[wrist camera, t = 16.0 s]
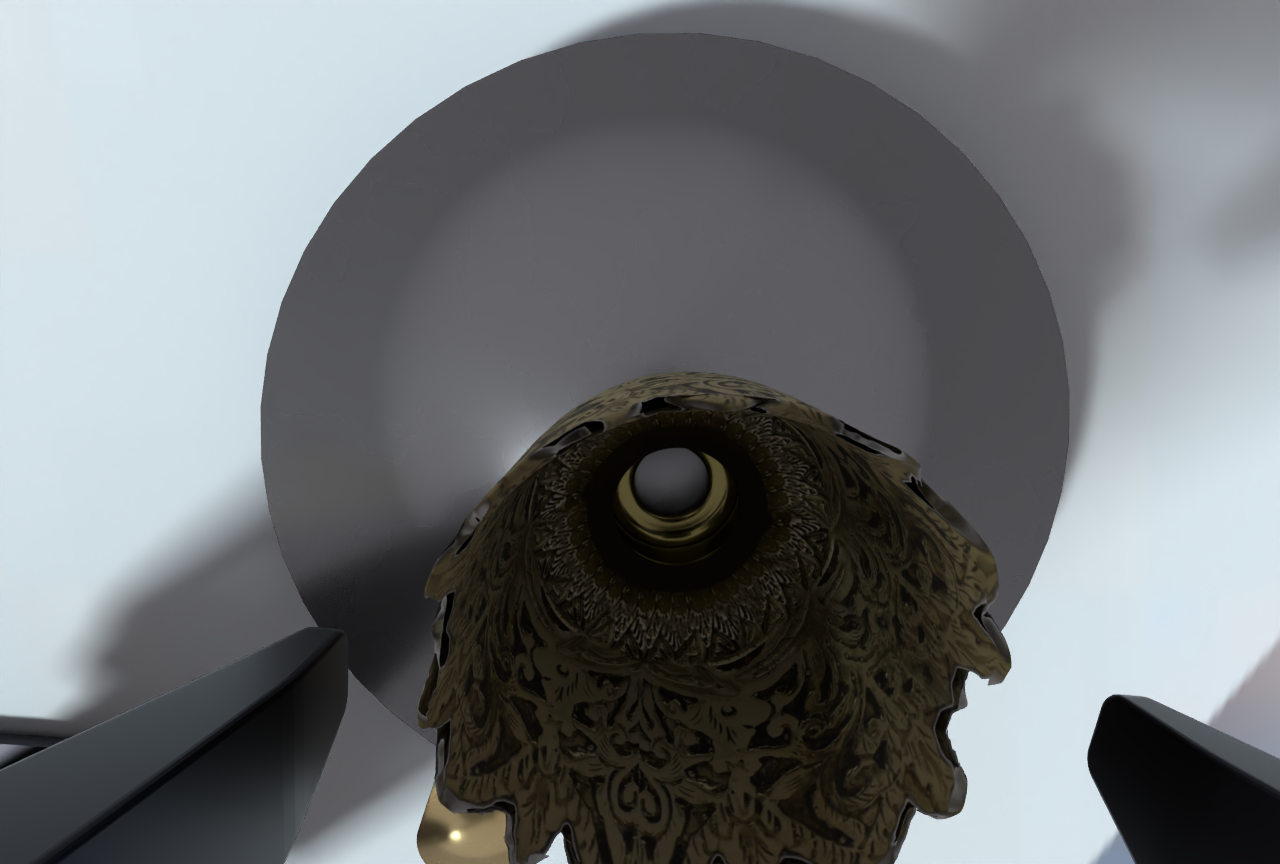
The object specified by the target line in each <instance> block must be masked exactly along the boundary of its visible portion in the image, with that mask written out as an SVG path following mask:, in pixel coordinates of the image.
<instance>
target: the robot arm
mask: <svg viewBox="0 0 1280 864" xmlns="http://www.w3.org/2000/svg"><path fill="white" fill-rule="evenodd" d="M347 696H348V639H347V635H346V634H345V632H344V631H343V630H340V629H331V628H319V627H308V628H305V629H303V630H301V631H299V632H297V633H295V634H292V635H290V636H288V637H286V638H284V639H282V640H279V641H277V642H275V643H273V644H271V645H269V646H267V647H264V648H262V649H260V650H258V651H256V652H254V653H251V654H249V655H247V656H245V657H243V658H241V659H238V660H236V661H234V662H232V663H230V664H228V665H225V666H223V667H221V668H219V669H217V670H215V671H213V672H210V673H208V674H206V675H204V676H202V677H200V678H197V679H195V680H193V681H191V682H189V683H187V684H184V685H182V686H180V687H178V688H176V689H174V690H171V691H169V692H167V693H165V694H163V695H161V696H159V697H156V698H154V699H152V700H150V701H148V702H146V703H143V704H141V705H139V706H137V707H135V708H133V709H130V710H128V711H126V712H124V713H122V714H120V715H117V716H115V717H113V718H111V719H109V720H107V721H105V722H102V723H100V724H98V725H96V726H94V727H92V728H89V729H87V730H85V731H83V732H81V733H79V734H76V735H74V736H72V737H70V738H58V737H44V736H30V735H16V734H2V733H0V864H284V863H285V861H286V859H287V857H288V854H289V852H290V850H291V848H292V846H293V844H294V842H295V840H296V837H297V835H298V832H299V830H300V828H301V825H302V823H303V820H304V818H305V815H306V812H307V810H308V807H309V804H310V802H311V799H312V797H313V794H314V791H315V789H316V786H317V783H318V781H319V778H320V776H321V773H322V770H323V768H324V765H325V763H326V760H327V757H328V755H329V752H330V749H331V747H332V744H333V742H334V739H335V736H336V734H337V731H338V728H339V726H340V723H341V721H342V718H343V715H344V712H345V708H346V703H347ZM1087 761H1088V767H1089V771H1090V774H1091V776H1092V779H1093V781H1094V783H1095V785H1096V787H1097V789H1098V791H1099V793H1100V795H1101V797H1102V799H1103V801H1104V803H1105V805H1106V807H1107V809H1108V811H1109V813H1110V815H1111V817H1112V819H1113V821H1114V823H1115V825H1116V827H1117V829H1118V831H1119V833H1120V835H1121V837H1122V839H1123V841H1124V843H1125V845H1126V847H1127V849H1128V851H1129V853H1130V855H1131V857H1132V859H1133V861H1134V863H1135V864H1280V759H1279V758H1277V757H1275V756H1273V755H1270V754H1268V753H1266V752H1264V751H1262V750H1260V749H1258V748H1256V747H1253V746H1251V745H1249V744H1247V743H1245V742H1242V741H1240V740H1238V739H1236V738H1234V737H1232V736H1230V735H1228V734H1225V733H1223V732H1221V731H1219V730H1217V729H1215V728H1212V727H1210V726H1208V725H1206V724H1204V723H1202V722H1200V721H1197V720H1195V719H1193V718H1191V717H1189V716H1187V715H1184V714H1182V713H1180V712H1178V711H1176V710H1174V709H1172V708H1169V707H1167V706H1165V705H1163V704H1161V703H1159V702H1157V701H1154V700H1152V699H1150V698H1147V697H1142V696H1131V695H1112V696H1110V697H1108V698H1107V699H1106V700H1105V701H1104V703H1103V705H1102V707H1101V711H1100V714H1099V717H1098V720H1097V723H1096V727H1095V730H1094V733H1093V736H1092V739H1091V743H1090V746H1089V749H1088V757H1087Z"/></svg>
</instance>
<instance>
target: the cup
mask: <svg viewBox="0 0 1280 864" xmlns="http://www.w3.org/2000/svg"><path fill="white" fill-rule="evenodd" d="M670 448H685V449H687V450H689V451H691V452H693V453H694V454H695V455H697V456H698V457H699V458H700V459H701V461H702V462H703V464H704V466H705V468H706V471H707V475H708V485H707V490H706V493H705V495H704V497H703V498H702V500H701V501H700V502H699V503H698V504H697V505H696V506H695V507H694V508H693V509H691V510H689V511H687V512H685V513H682V514H679V515H663V514H659V513H656V512H654V511H652V510H650V509H649V508H648V507H646V506H645V505H644V504H643V503H642V501H641V500H640V498H639V497H638V494H637V492H636V488H635V475H636V471H637V469H638V466H639V465H640V463H641V462H642V460H643V459H644V458H645V457H646V456H647V455H649V454H651V453H654V452H657V451H660V450H664V449H670ZM921 469H922V466H921V465H920V464H919V463H918V462H917V461H916V460H915V459H913V458H912V457H911V456H909V455H908V454H907V453H905V452H903V451H902V450H900V449H898V448H896V447H894V446H892V445H890V444H887V443H885V442H883V441H880V440H878V439H876V438H874V437H872V436H870V435H868V434H866V433H864V432H862V431H860V430H858V429H856V428H854V427H852V426H850V425H848V424H846V423H845V422H844V421H842V420H840V419H838V418H835V417H833V416H831V415H829V414H827V413H825V412H823V411H821V410H819V409H817V408H815V407H813V406H811V405H809V404H807V403H805V402H803V401H801V400H799V399H796V398H794V397H792V396H790V395H787V394H785V393H782V392H780V391H778V390H775V389H773V388H770V387H768V386H765V385H762V384H759V383H757V382H753V381H749V380H746V379H742V378H739V377H735V376H729V375H722V374H716V373H708V372H671V373H662V374H656V375H650V376H644V377H641V378H638V379H634V380H631V381H627V382H624V383H621V384H619V385H617V386H614V387H612V388H609V389H607V390H605V391H603V392H601V393H599V394H597V395H595V396H593V397H592V398H590V399H588V400H586V401H584V402H583V403H581V404H579V405H578V406H577V407H575V408H574V409H572V410H571V411H570V412H568V413H567V414H565V415H564V416H563V417H561V418H560V419H559V420H558V421H557V422H556V423H555V424H553V425H552V426H551V427H550V428H549V429H548V430H547V431H546V432H545V433H543V434H542V435H541V436H540V437H539V438H538V439H537V440H536V441H535V442H534V443H533V444H532V445H531V446H530V448H529V449H528V450H527V451H526V452H525V453H524V454H523V455H522V456H521V457H520V459H519V460H518V461H517V462H516V463H515V464H514V465H513V467H512V468H511V469H510V470H509V471H508V472H507V473H506V474H505V475H504V476H503V477H502V478H501V479H500V480H499V481H498V482H497V483H496V484H495V485H494V487H493V488H492V489H491V490H490V491H489V492H488V493H487V494H486V495H485V496H484V497H483V498H482V500H481V501H480V502H479V503H478V504H477V505H476V507H475V508H474V509H473V510H472V511H471V513H470V514H469V515H468V516H467V518H466V519H465V521H464V522H463V523H462V525H461V526H460V528H459V530H458V532H457V534H456V536H455V538H454V540H453V541H452V542H451V543H450V544H449V545H448V546H447V548H446V549H445V550H444V551H443V553H442V554H441V555H440V557H439V558H438V560H437V561H436V563H435V565H434V567H433V569H432V571H431V573H430V576H429V578H428V581H427V584H426V587H425V591H424V597H425V598H428V597H430V598H432V599H435V600H436V601H438V602H439V604H438V609H437V612H436V615H435V618H434V622H433V624H432V626H431V636H432V638H433V641H434V643H435V647H434V649H435V654H434V658H433V661H432V664H431V665H432V666H430V668H429V670H428V678H427V680H426V683H425V686H424V689H423V692H422V695H421V697H420V699H419V703H418V708H417V718H418V725H419V727H420V728H421V729H424V730H425V729H428V728H437V744H436V768H435V769H436V773H435V778H434V779H435V787H436V792H437V796H438V799H439V802H440V803H441V804H442V805H443V806H444V807H446V808H447V809H448V810H449V811H451V812H452V813H453V814H455V813H467V814H472V813H476V814H480V815H483V814H484V813H493V812H494V811H500V812H502V813H505V814H506V830H505V836H504V840H505V843H506V845H507V848H508V858H509V864H536V863H538V862H540V861H542V860H543V859H544V858H547V857H548V856H547V855H546V853H547V851H549V848H550V847H551V844H552V843H553V841H554V839H555V837H556V836H557V835H558V834H559V833H560V832H561V833H562V834H563V836H564V848H565V852H566V856H567V861H568V863H569V864H894V862H895V861H896V859H897V857H898V854H899V852H900V849H901V846H902V844H903V842H904V840H905V838H906V835H907V832H908V829H909V825H910V822H911V820H912V818H913V817H914V815H915V813H916V808H917V809H918V810H917V811H919V812H921V813H923V814H925V815H929V816H930V817H933V818H935V819H946V818H949V817H952V816H955V815H957V814H958V813H960V812H961V810H962V809H963V806H964V803H965V798H966V794H967V778H966V775H965V773H964V771H963V769H962V767H961V766H960V763H958V759H957V755H956V752H955V751H954V750H953V749H952V746H951V741H950V739H949V738H948V730H947V727H948V724H949V721H950V719H951V716H952V714H953V713H954V712H956V711H958V710H960V709H963V708H965V707H966V706H967V699H966V695H965V681H966V679H967V676H968V672H969V671H971V672H974V673H975V674H977V675H979V677H980V678H981V679H989V682H988V685H995V684H999V683H1002V682H1003V680H1004V679H1005V677H1006V675H1007V673H1008V672H1009V670H1010V668H1011V655H1010V651H1009V648H1008V645H1007V643H1006V640H1005V638H1004V636H1003V634H1002V633H1001V631H1000V629H999V628H998V626H997V624H996V623H995V621H994V619H993V618H992V616H991V615H990V614H989V613H988V608H989V606H990V605H992V604H993V603H994V602H995V600H996V599H997V597H998V589H999V581H998V571H997V566H996V563H995V560H994V556H993V554H992V552H991V551H990V549H989V548H988V546H987V545H986V543H985V542H984V541H983V540H982V538H981V537H980V536H979V534H978V533H977V532H976V531H975V530H974V529H973V527H972V526H971V525H970V524H969V523H968V522H967V521H966V520H965V519H964V518H963V516H962V515H961V514H960V513H959V512H958V511H957V510H956V509H955V508H954V507H953V506H952V504H951V503H949V502H948V501H947V500H945V499H944V498H943V497H942V496H940V495H939V494H938V493H937V492H936V491H935V490H934V489H932V488H931V487H930V486H929V485H928V484H927V483H926V482H925V481H924V480H923V479H922V478H921V476H920V471H922V470H921ZM946 730H947V734H946ZM956 760H957V761H956ZM486 807H487V808H486ZM484 808H485V809H484Z"/></svg>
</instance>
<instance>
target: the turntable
mask: <svg viewBox="0 0 1280 864" xmlns="http://www.w3.org/2000/svg"><path fill="white" fill-rule="evenodd" d="M671 372H708V373H716V374H722V375H729V376H735V377H739V378H742V379H746V380H749V381H753V382H757V383H759V384H762V385H765V386H768V387H770V388H773V389H775V390H778V391H780V392H782V393H785V394H787V395H790V396H792V397H794V398H796V399H799V400H801V401H803V402H805V403H807V404H809V405H811V406H813V407H815V408H817V409H819V410H821V411H823V412H825V413H827V414H829V415H831V416H833V417H835V418H838V419H840V420H842V421H844V422H845V423H846V424H848V425H850V426H852V427H854V428H856V429H858V430H860V431H862V432H864V433H866V434H868V435H870V436H872V437H874V438H876V439H878V440H880V441H883V442H885V443H887V444H890V445H892V446H894V447H896V448H898V449H900V450H902V451H903V452H905V453H907V454H908V455H909V456H911V457H912V458H913V459H915V460H916V461H917V462H918V463H919V464H920V465H921V466H922V469H921V470H922V471H920V476H921V478H922V479H923V480H924V481H925V482H926V483H927V484H928V485H929V486H930V487H931V488H932V489H934V490H935V491H936V492H937V493H938V494H939V495H940V496H942V497H943V498H944V499H945V500H947V501H948V502H949V503H951V504H952V506H953V507H954V508H955V509H956V510H957V511H958V512H959V513H960V514H961V515H962V516H963V518H964V519H965V520H966V521H967V522H968V523H969V524H970V525H971V526H972V527H973V529H974V530H975V531H976V532H977V533H978V534H979V536H980V537H981V538H982V540H983V541H984V542H985V543H986V545H987V546H988V548H989V549H990V551H991V552H992V554H993V556H994V560H995V563H996V566H997V571H998V581H999V589H998V597H997V599H996V600H995V602H994V603H993V604H992V605H990V606H989V608H988V613H989V614H990V615H991V616H992V618H993V619H994V621H995V623H996V624H997V626H998V628H999V629H1000V631H1002V629H1003V628H1004V627H1005V625H1006V624H1007V622H1008V620H1009V618H1010V617H1011V615H1012V613H1013V611H1014V610H1015V608H1016V606H1017V605H1018V603H1019V601H1020V599H1021V598H1022V596H1023V594H1024V592H1025V591H1026V589H1027V587H1028V586H1029V584H1030V581H1031V579H1032V577H1033V574H1034V572H1035V570H1036V567H1037V565H1038V562H1039V560H1040V558H1041V555H1042V553H1043V551H1044V548H1045V546H1046V544H1047V541H1048V539H1049V535H1050V532H1051V528H1052V524H1053V521H1054V517H1055V514H1056V510H1057V507H1058V503H1059V499H1060V496H1061V492H1062V486H1063V479H1064V472H1065V465H1066V458H1067V451H1068V444H1069V387H1068V379H1067V372H1066V364H1065V356H1064V349H1063V341H1062V337H1061V334H1060V330H1059V326H1058V323H1057V319H1056V316H1055V312H1054V308H1053V305H1052V301H1051V297H1050V294H1049V290H1048V288H1047V286H1046V283H1045V281H1044V279H1043V276H1042V274H1041V272H1040V270H1039V267H1038V265H1037V263H1036V260H1035V258H1034V256H1033V254H1032V251H1031V249H1030V247H1029V244H1028V242H1027V240H1026V239H1025V237H1024V235H1023V234H1022V232H1021V231H1020V229H1019V227H1018V226H1017V224H1016V223H1015V221H1014V219H1013V218H1012V216H1011V214H1010V213H1009V211H1008V210H1007V208H1006V206H1005V205H1004V203H1003V202H1002V200H1001V198H1000V197H999V195H998V194H997V193H996V192H995V190H994V189H993V188H992V187H991V186H990V184H989V183H988V182H987V181H986V180H985V179H984V177H983V176H982V175H981V174H980V173H979V171H978V170H977V169H976V168H975V167H974V166H973V164H972V163H971V162H970V161H969V160H968V158H967V157H966V156H965V155H964V154H963V153H962V152H961V151H960V150H959V149H958V148H957V147H956V146H955V145H953V144H952V143H951V142H950V141H949V140H948V139H947V138H946V137H944V136H943V135H942V134H941V133H940V132H939V131H938V130H936V129H935V128H934V127H933V126H932V125H931V124H930V123H929V122H927V121H926V120H925V119H924V118H923V117H922V116H921V115H919V114H918V113H916V112H915V111H913V110H912V109H910V108H909V107H907V106H906V105H904V104H902V103H901V102H899V101H898V100H896V99H895V98H893V97H892V96H890V95H889V94H887V93H886V92H884V91H882V90H881V89H879V88H878V87H876V86H875V85H873V84H872V83H870V82H868V81H865V80H863V79H861V78H859V77H857V76H854V75H852V74H850V73H848V72H846V71H844V70H841V69H839V68H837V67H835V66H833V65H830V64H828V63H826V62H824V61H822V60H820V59H817V58H814V57H811V56H807V55H804V54H800V53H797V52H793V51H790V50H787V49H783V48H780V47H776V46H773V45H769V44H766V43H763V42H758V41H751V40H744V39H737V38H729V37H722V36H715V35H708V34H701V33H683V34H634V35H628V36H621V37H615V38H608V39H601V40H595V41H588V42H582V43H577V44H574V45H570V46H567V47H564V48H560V49H557V50H554V51H551V52H547V53H544V54H541V55H537V56H534V57H531V58H528V59H524V60H521V61H519V62H516V63H514V64H512V65H510V66H508V67H506V68H504V69H502V70H499V71H497V72H495V73H493V74H491V75H489V76H487V77H484V78H482V79H480V80H478V81H476V82H474V83H472V84H470V85H467V86H465V87H464V88H462V89H461V90H459V91H458V92H456V93H455V94H453V95H452V96H450V97H449V98H447V99H446V100H444V101H443V102H441V103H440V104H438V105H437V106H435V107H434V108H432V109H430V110H429V111H427V112H426V113H424V114H423V115H421V116H420V117H418V118H417V119H415V120H414V121H413V122H412V123H411V124H410V125H409V126H407V127H406V128H405V129H404V130H403V131H402V132H401V133H400V134H398V135H397V136H396V137H395V138H394V139H393V140H392V141H391V142H389V143H388V144H387V145H386V146H385V147H384V148H383V149H382V150H381V151H379V152H378V153H377V154H376V155H375V156H374V157H373V158H372V159H371V160H370V161H369V162H368V163H367V164H366V166H365V167H364V168H363V169H362V170H361V172H360V173H359V174H358V175H357V176H356V177H355V179H354V180H353V181H352V182H351V183H350V185H349V186H348V187H347V188H346V189H345V191H344V192H343V193H342V194H341V195H340V196H339V198H338V199H337V200H336V201H335V202H334V204H333V205H332V207H331V209H330V210H329V212H328V213H327V215H326V217H325V218H324V220H323V222H322V223H321V225H320V226H319V228H318V230H317V231H316V233H315V234H314V236H313V238H312V239H311V241H310V242H309V244H308V246H307V247H306V249H305V251H304V253H303V255H302V257H301V259H300V262H299V264H298V266H297V269H296V271H295V273H294V275H293V278H292V280H291V282H290V285H289V287H288V289H287V291H286V294H285V296H284V298H283V301H282V303H281V307H280V311H279V314H278V318H277V321H276V325H275V329H274V332H273V336H272V340H271V343H270V347H269V350H268V354H267V362H266V369H265V377H264V385H263V393H262V401H261V460H262V466H263V473H264V479H265V486H266V493H267V499H268V506H269V511H270V514H271V518H272V521H273V524H274V528H275V531H276V534H277V538H278V541H279V545H280V548H281V551H282V555H283V558H284V560H285V562H286V565H287V567H288V569H289V571H290V573H291V576H292V578H293V580H294V582H295V585H296V587H297V589H298V591H299V594H300V596H301V598H302V600H303V602H304V604H305V606H306V607H307V609H308V611H309V612H310V614H311V615H312V617H313V619H314V620H315V622H316V624H317V625H318V627H319V628H331V629H340V630H343V631H344V632H345V634H346V635H347V639H348V668H349V669H350V670H351V672H352V673H353V674H354V675H355V677H356V678H357V679H358V680H359V681H360V682H361V683H362V684H363V685H364V686H365V687H366V688H367V689H368V690H369V691H370V692H371V693H372V694H373V695H374V696H375V697H376V698H377V699H378V700H379V701H380V702H381V703H382V704H383V705H384V706H386V707H387V708H388V709H389V710H390V711H391V712H392V713H393V714H394V715H395V716H397V717H398V718H399V719H401V720H402V721H403V722H405V723H406V724H407V725H409V726H410V727H411V728H413V729H414V730H415V731H417V732H418V733H419V734H421V735H422V736H423V737H425V738H426V739H427V740H428V741H430V742H431V743H433V744H435V745H436V744H437V728H428V729H425V730H424V729H421V728H420V727H419V725H418V718H417V708H418V703H419V699H420V697H421V695H422V692H423V689H424V686H425V683H426V680H427V678H428V670H429V668H430V666H432V665H431V664H432V661H433V658H434V654H435V649H434V647H435V643H434V641H433V638H432V636H431V626H432V624H433V622H434V618H435V615H436V612H437V609H438V604H439V602H438V601H436V600H435V599H432V598H430V597H428V598H425V597H424V591H425V587H426V584H427V581H428V578H429V576H430V573H431V571H432V569H433V567H434V565H435V563H436V561H437V560H438V558H439V557H440V555H441V554H442V553H443V551H444V550H445V549H446V548H447V546H448V545H449V544H450V543H451V542H452V541H453V540H454V538H455V536H456V534H457V532H458V530H459V528H460V526H461V525H462V523H463V522H464V521H465V519H466V518H467V516H468V515H469V514H470V513H471V511H472V510H473V509H474V508H475V507H476V505H477V504H478V503H479V502H480V501H481V500H482V498H483V497H484V496H485V495H486V494H487V493H488V492H489V491H490V490H491V489H492V488H493V487H494V485H495V484H496V483H497V482H498V481H499V480H500V479H501V478H502V477H503V476H504V475H505V474H506V473H507V472H508V471H509V470H510V469H511V468H512V467H513V465H514V464H515V463H516V462H517V461H518V460H519V459H520V457H521V456H522V455H523V454H524V453H525V452H526V451H527V450H528V449H529V448H530V446H531V445H532V444H533V443H534V442H535V441H536V440H537V439H538V438H539V437H540V436H541V435H542V434H543V433H545V432H546V431H547V430H548V429H549V428H550V427H551V426H552V425H553V424H555V423H556V422H557V421H558V420H559V419H560V418H561V417H563V416H564V415H565V414H567V413H568V412H570V411H571V410H572V409H574V408H575V407H577V406H578V405H579V404H581V403H583V402H584V401H586V400H588V399H590V398H592V397H593V396H595V395H597V394H599V393H601V392H603V391H605V390H607V389H609V388H612V387H614V386H617V385H619V384H621V383H624V382H627V381H631V380H634V379H638V378H641V377H644V376H650V375H656V374H662V373H671ZM707 485H708V475H707V471H706V468H705V466H704V464H703V462H702V461H701V459H700V458H699V457H698V456H697V455H695V454H694V453H693V452H691V451H689V450H687V449H685V448H670V449H664V450H660V451H657V452H654V453H651V454H649V455H647V456H646V457H645V458H644V459H643V460H642V462H641V463H640V465H639V466H638V469H637V471H636V475H635V488H636V492H637V494H638V497H639V498H640V500H641V501H642V503H643V504H644V505H645V506H646V507H648V508H649V509H650V510H652V511H654V512H656V513H659V514H663V515H679V514H682V513H685V512H687V511H689V510H691V509H693V508H694V507H695V506H696V505H697V504H698V503H699V502H700V501H701V500H702V498H703V497H704V495H705V493H706V490H707ZM486 808H487V807H486ZM484 809H485V808H484ZM505 830H506V814H505V813H502V812H500V811H494V812H493V813H484V814H483V815H480V814H476V813H472V814H467V813H455V814H453V813H452V812H451V811H449V810H448V809H447V808H446V807H444V806H443V805H442V804H441V803H440V802H439V799H438V796H437V792H436V787H435V781H434V784H433V787H432V790H431V793H430V796H429V799H428V802H427V805H426V808H425V811H424V814H423V817H422V821H421V824H420V827H419V830H418V834H417V847H418V851H419V853H420V856H421V858H422V859H423V861H424V862H425V863H426V864H509V858H508V848H507V845H506V843H505V840H504V836H505Z"/></svg>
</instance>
